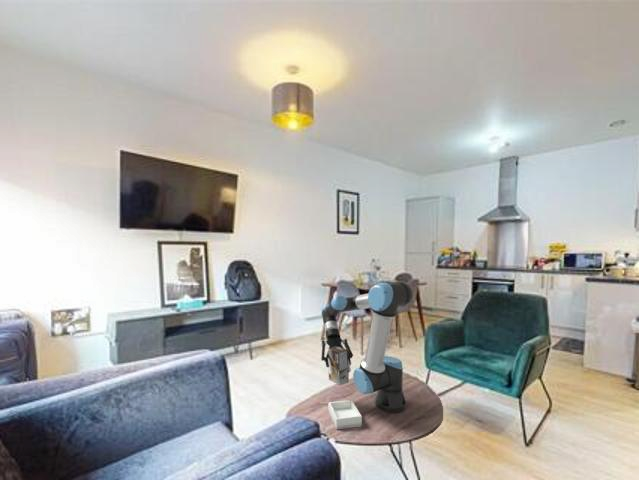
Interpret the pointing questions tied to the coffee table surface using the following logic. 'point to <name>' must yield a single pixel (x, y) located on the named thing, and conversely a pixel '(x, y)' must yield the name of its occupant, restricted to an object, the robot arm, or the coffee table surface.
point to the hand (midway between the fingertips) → (340, 372)
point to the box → (345, 414)
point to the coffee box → (339, 365)
